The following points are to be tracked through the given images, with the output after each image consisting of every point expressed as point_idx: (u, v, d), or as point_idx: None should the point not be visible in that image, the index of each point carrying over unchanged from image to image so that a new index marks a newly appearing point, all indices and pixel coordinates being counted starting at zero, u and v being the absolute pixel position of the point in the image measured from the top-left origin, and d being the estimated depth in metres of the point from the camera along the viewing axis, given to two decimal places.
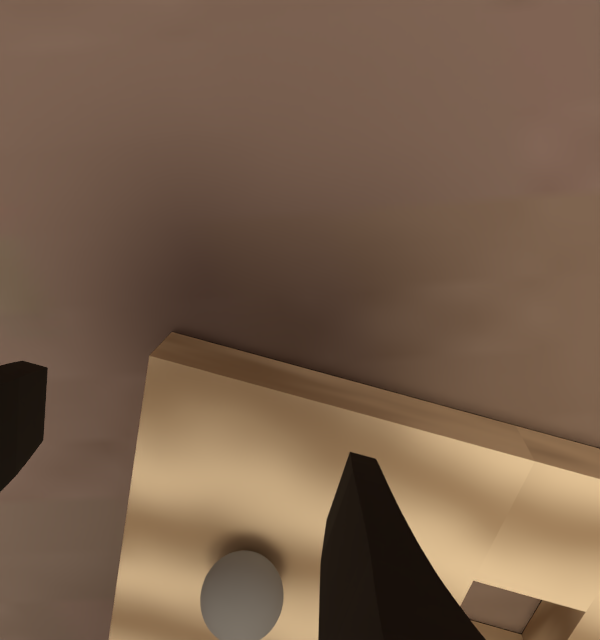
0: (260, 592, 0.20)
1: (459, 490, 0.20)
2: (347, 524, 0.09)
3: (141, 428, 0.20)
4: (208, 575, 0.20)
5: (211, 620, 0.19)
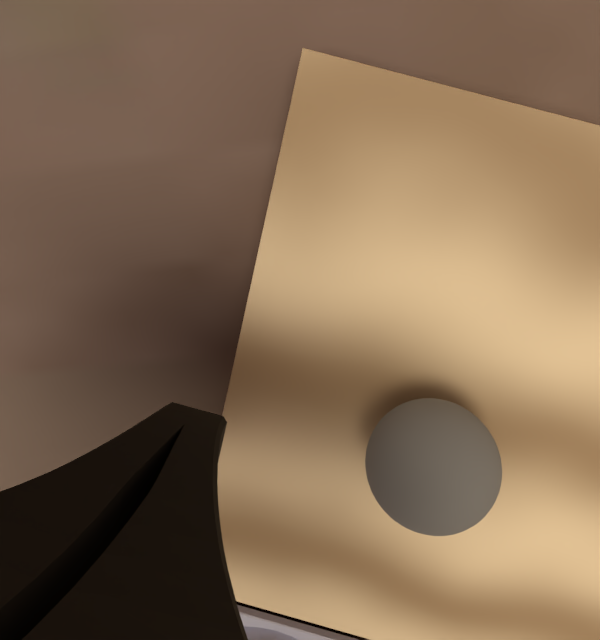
0: (481, 444, 0.12)
1: None
2: None
3: (274, 194, 0.13)
4: (381, 428, 0.13)
5: (402, 488, 0.12)
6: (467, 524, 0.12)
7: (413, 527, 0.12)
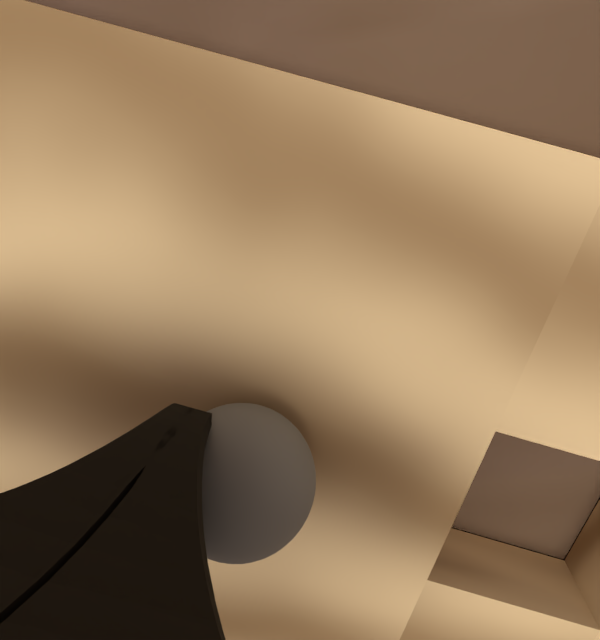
0: (260, 405, 0.12)
1: (473, 238, 0.11)
2: None
3: None
4: (277, 495, 0.10)
5: (315, 483, 0.11)
6: None
7: None
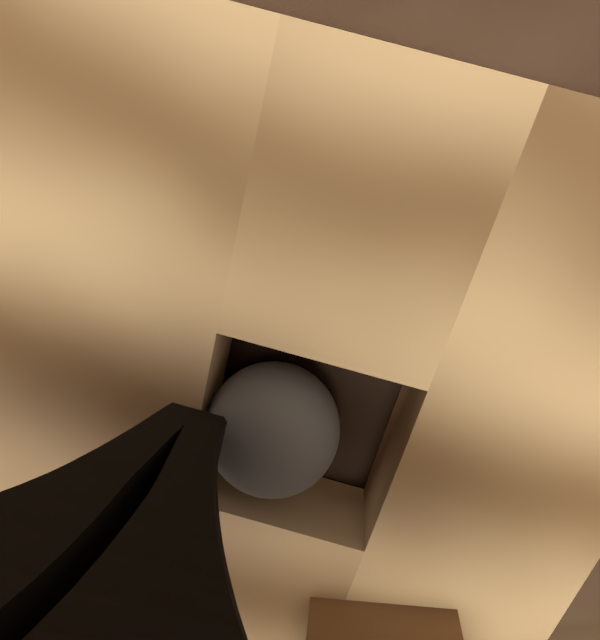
0: (311, 374, 0.13)
1: (149, 110, 0.10)
2: None
3: None
4: (247, 435, 0.11)
5: (313, 457, 0.12)
6: None
7: (318, 479, 0.12)
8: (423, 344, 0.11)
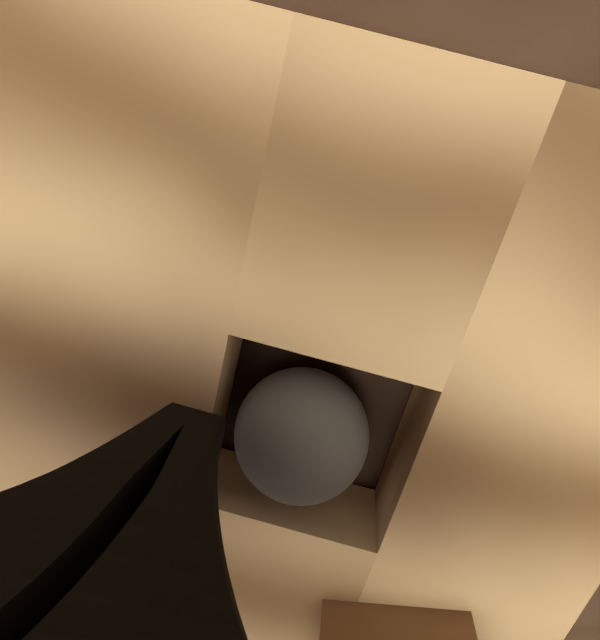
0: (334, 376, 0.13)
1: (160, 110, 0.10)
2: None
3: None
4: (296, 449, 0.11)
5: (357, 459, 0.12)
6: None
7: (354, 477, 0.13)
8: (437, 344, 0.11)
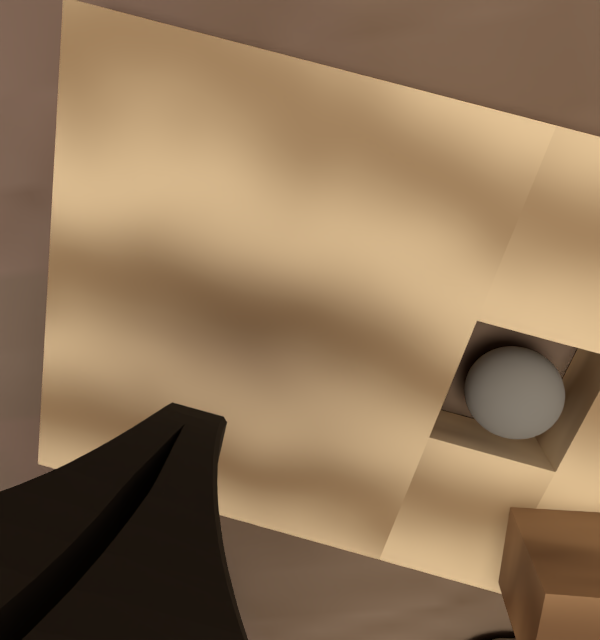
0: None
1: (459, 180, 0.16)
2: None
3: (60, 116, 0.16)
4: (538, 400, 0.17)
5: None
6: None
7: None
8: None
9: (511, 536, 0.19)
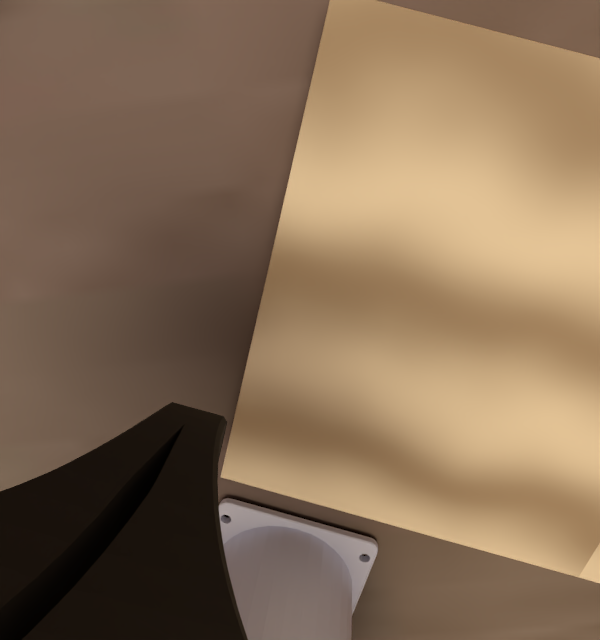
0: None
1: None
2: None
3: (306, 115, 0.15)
4: None
5: None
6: None
7: None
8: None
9: None
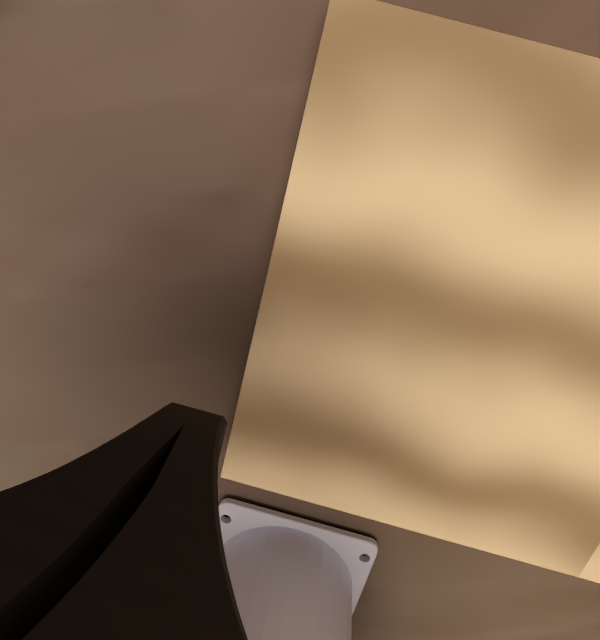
0: None
1: None
2: None
3: (306, 115, 0.15)
4: None
5: None
6: None
7: None
8: None
9: None
